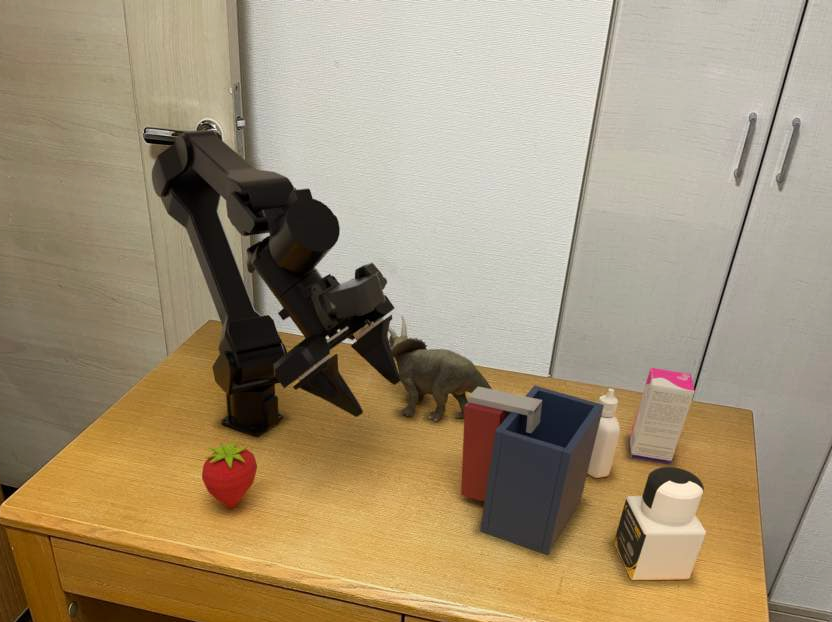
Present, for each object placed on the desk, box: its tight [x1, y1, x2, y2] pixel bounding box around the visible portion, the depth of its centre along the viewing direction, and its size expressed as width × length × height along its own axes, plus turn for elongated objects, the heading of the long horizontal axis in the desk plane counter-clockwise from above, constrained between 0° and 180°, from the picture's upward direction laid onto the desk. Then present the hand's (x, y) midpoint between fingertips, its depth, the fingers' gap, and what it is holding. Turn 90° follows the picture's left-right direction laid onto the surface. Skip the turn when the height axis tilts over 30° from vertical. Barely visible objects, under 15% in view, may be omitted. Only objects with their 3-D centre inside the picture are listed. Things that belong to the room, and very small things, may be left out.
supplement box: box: [628, 367, 695, 464], centre depth 111 cm, size 6×6×12 cm
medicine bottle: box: [613, 466, 707, 581], centre depth 92 cm, size 7×7×12 cm
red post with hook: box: [460, 387, 542, 502], centre depth 98 cm, size 8×5×13 cm, turn 63°
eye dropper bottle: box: [587, 388, 621, 479], centre depth 107 cm, size 4×6×12 cm
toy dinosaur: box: [384, 315, 493, 422], centre depth 117 cm, size 22×8×11 cm, turn 58°
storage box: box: [479, 384, 604, 556], centre depth 97 cm, size 9×13×14 cm
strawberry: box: [201, 439, 258, 509], centre depth 96 cm, size 6×8×10 cm
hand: (379, 398), depth 95 cm, fingers open, 9 cm apart
